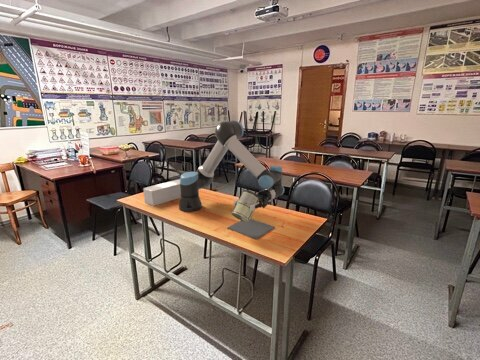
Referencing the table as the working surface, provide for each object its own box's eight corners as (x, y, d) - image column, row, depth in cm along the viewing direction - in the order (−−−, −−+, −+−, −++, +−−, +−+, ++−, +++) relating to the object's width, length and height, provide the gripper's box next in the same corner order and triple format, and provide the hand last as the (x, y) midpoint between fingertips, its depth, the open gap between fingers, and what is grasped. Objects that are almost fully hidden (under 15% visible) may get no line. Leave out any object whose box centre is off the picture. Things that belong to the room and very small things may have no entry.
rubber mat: (227, 228, 147) (227, 227, 147) (247, 218, 161) (247, 217, 161) (256, 239, 135) (256, 238, 135) (275, 227, 149) (275, 226, 148)
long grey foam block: (153, 206, 180) (151, 191, 177) (144, 202, 187) (143, 188, 184) (189, 194, 204) (189, 181, 201) (181, 192, 210) (180, 178, 207)
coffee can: (228, 212, 140) (240, 190, 145) (243, 222, 143) (254, 200, 148) (236, 212, 131) (249, 188, 136) (252, 222, 134) (263, 199, 139)
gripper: (282, 205, 148) (259, 218, 131) (250, 197, 162) (226, 207, 145) (283, 193, 146) (260, 204, 129) (250, 185, 160) (225, 194, 143)
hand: (242, 206), depth 137 cm, fingers closed on coffee can, 10 cm apart
